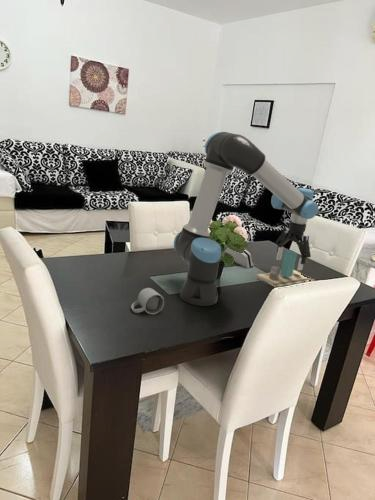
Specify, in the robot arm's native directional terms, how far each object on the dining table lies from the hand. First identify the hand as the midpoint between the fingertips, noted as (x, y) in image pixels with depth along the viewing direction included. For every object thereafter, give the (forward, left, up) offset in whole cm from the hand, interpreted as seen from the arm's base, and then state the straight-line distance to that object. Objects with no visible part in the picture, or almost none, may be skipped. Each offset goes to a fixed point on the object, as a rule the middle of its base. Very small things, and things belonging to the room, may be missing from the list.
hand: (288, 264), depth 186 cm
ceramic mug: (-79, -7, -8) cm, 80 cm away
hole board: (0, 0, -8) cm, 8 cm away
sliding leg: (0, 0, -6) cm, 6 cm away
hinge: (-9, +26, -8) cm, 28 cm away
